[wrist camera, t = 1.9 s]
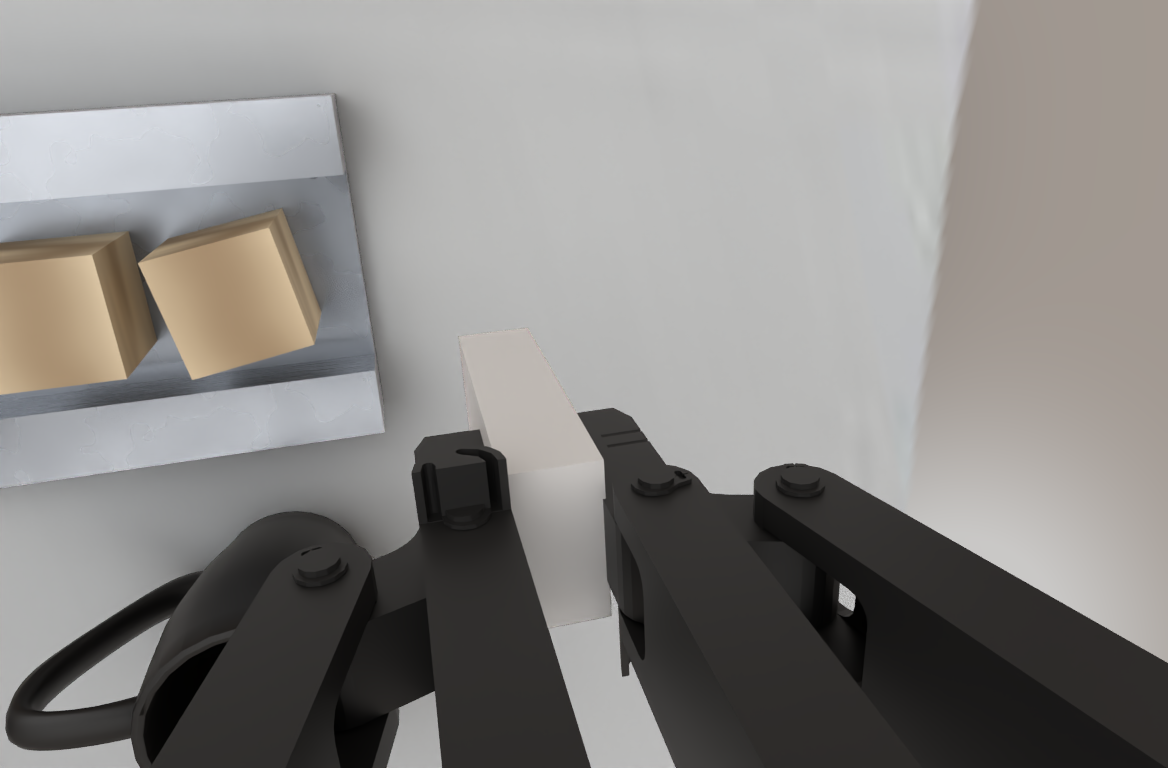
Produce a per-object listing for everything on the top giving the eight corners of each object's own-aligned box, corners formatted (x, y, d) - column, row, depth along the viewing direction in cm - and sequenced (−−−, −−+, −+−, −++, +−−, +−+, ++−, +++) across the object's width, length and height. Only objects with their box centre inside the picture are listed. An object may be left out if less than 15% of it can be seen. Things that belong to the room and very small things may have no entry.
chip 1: (35, 355, 29) (-14, 396, 25) (-1, 242, 27) (-59, 269, 24) (157, 340, 30) (127, 378, 26) (128, 231, 28) (92, 254, 24)
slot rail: (-26, 459, 30) (-65, 497, 28) (-150, 123, 26) (-212, 129, 23) (383, 403, 33) (384, 432, 31) (334, 93, 29) (330, 95, 26)
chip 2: (214, 342, 30) (192, 380, 26) (168, 238, 28) (138, 263, 25) (321, 312, 31) (314, 344, 27) (281, 207, 29) (268, 228, 25)
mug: (82, 478, 32) (-28, 632, 23) (397, 483, 35) (406, 619, 26) (94, 653, 34) (0, 850, 26) (387, 643, 38) (390, 814, 29)
